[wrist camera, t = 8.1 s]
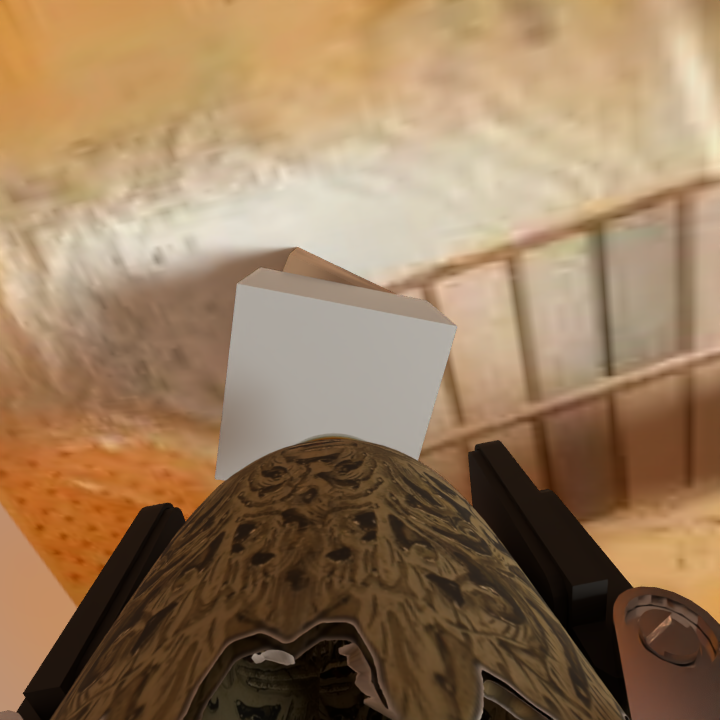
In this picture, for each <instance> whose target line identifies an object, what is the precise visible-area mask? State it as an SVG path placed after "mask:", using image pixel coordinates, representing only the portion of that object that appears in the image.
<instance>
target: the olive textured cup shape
mask: <svg viewBox="0 0 720 720" xmlns="http://www.w3.org/2000/svg"><path fill="white" fill-rule="evenodd" d="M50 720H630V719H629V718H628V717H627V715H626V714H625V712H624V711H623V710H622V708H621V707H620V706H619V704H618V703H617V701H616V700H615V699H614V697H613V696H612V694H611V693H610V692H609V690H608V689H607V687H606V686H605V685H604V683H603V682H602V680H601V679H600V678H599V676H598V675H597V674H596V672H595V671H594V669H593V668H592V667H591V665H590V664H589V662H588V661H587V660H586V658H585V657H584V655H583V654H582V653H581V651H580V650H579V648H578V647H577V646H576V644H575V643H574V641H573V640H572V639H571V637H570V636H569V635H568V633H567V632H566V630H565V629H564V628H563V626H562V625H561V623H560V622H559V621H558V619H557V618H556V616H555V615H554V614H553V612H552V611H551V609H550V608H549V607H548V605H547V604H546V603H545V601H544V600H543V598H542V597H541V596H540V594H539V593H538V591H537V590H536V589H535V587H534V586H533V585H532V583H531V582H530V581H529V579H528V578H527V576H526V575H525V574H524V572H523V571H522V570H521V568H520V567H519V565H518V564H517V563H516V561H515V560H514V559H513V557H512V556H511V555H510V553H509V552H508V550H507V549H506V548H505V546H504V545H503V544H502V542H501V541H500V540H499V538H498V537H497V536H496V535H495V533H494V532H493V531H492V529H491V528H490V527H489V526H488V524H487V523H486V522H485V521H484V519H483V518H482V517H481V516H480V515H479V514H478V513H477V511H476V510H475V509H474V508H473V507H472V506H471V505H470V503H469V502H468V501H467V500H466V499H465V498H464V497H463V496H462V495H461V494H460V493H459V492H458V491H457V490H456V489H455V488H454V487H453V486H452V485H451V484H449V483H448V482H447V481H446V480H445V479H444V478H443V477H441V476H440V475H439V474H438V473H436V472H435V471H434V470H432V469H431V468H429V467H428V466H426V465H424V464H423V463H421V462H420V461H418V460H416V459H414V458H412V457H410V456H408V455H406V454H404V453H402V452H400V451H398V450H395V449H392V448H389V447H386V446H383V445H379V444H375V443H371V442H367V441H365V440H363V439H361V438H358V437H355V436H352V435H347V434H341V433H328V434H320V435H316V436H312V437H310V438H307V439H304V440H302V441H300V442H299V443H297V444H295V445H292V446H288V447H285V448H282V449H279V450H277V451H274V452H272V453H269V454H267V455H265V456H263V457H261V458H259V459H257V460H255V461H254V462H252V463H250V464H249V465H247V466H246V467H244V468H243V469H241V470H240V471H238V472H237V473H235V474H233V475H232V476H231V477H229V478H228V479H227V480H226V481H225V482H223V483H222V484H221V485H220V486H219V487H218V488H217V489H216V490H215V491H214V492H213V493H212V494H211V495H210V496H209V497H208V498H207V499H206V500H205V501H204V502H203V503H202V504H201V505H200V506H199V507H198V508H197V509H196V510H195V511H194V512H193V513H192V515H191V516H190V517H189V518H188V520H187V521H186V522H185V523H184V525H183V526H182V527H181V528H180V530H179V531H178V532H177V533H176V535H175V536H174V538H173V539H172V540H171V542H170V543H169V544H168V546H167V547H166V549H165V550H164V551H163V553H162V554H161V556H160V557H159V558H158V560H157V561H156V562H155V564H154V565H153V567H152V568H151V569H150V571H149V572H148V574H147V575H146V577H145V578H144V580H143V581H142V582H141V584H140V585H139V587H138V588H137V590H136V591H135V593H134V594H133V596H132V597H131V599H130V600H129V602H128V603H127V605H126V606H125V607H124V609H123V610H122V612H121V613H120V615H119V616H118V618H117V619H116V621H115V622H114V624H113V625H112V627H111V628H110V630H109V631H108V633H107V634H106V636H105V637H104V639H103V640H102V642H101V643H100V645H99V646H98V648H97V649H96V651H95V652H94V654H93V655H92V657H91V658H90V660H89V661H88V663H87V664H86V666H85V667H84V669H83V670H82V672H81V673H80V675H79V676H78V678H77V679H76V681H75V682H74V684H73V685H72V687H71V688H70V690H69V691H68V693H67V694H66V696H65V697H64V699H63V700H62V702H61V703H60V705H59V706H58V708H57V709H56V711H55V712H54V714H53V716H52V717H51V719H50Z"/></svg>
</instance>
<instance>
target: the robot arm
mask: <svg viewBox="0 0 720 720" xmlns="http://www.w3.org/2000/svg"><path fill="white" fill-rule="evenodd" d="M468 459H469V470H470V482H471V493H472V504H473V508H474V509H475V510H476V511H477V513H478V514H479V515H480V516H481V517H482V518H483V519H484V521H485V522H486V523H487V524H488V526H489V527H490V528H491V529H492V531H493V532H494V533H495V535H496V536H497V537H498V538H499V540H500V541H501V542H502V544H503V545H504V546H505V548H506V549H507V550H508V552H509V553H510V555H511V556H512V557H513V559H514V560H515V561H516V563H517V564H518V565H519V567H520V568H521V570H522V571H523V572H524V574H525V575H526V576H527V578H528V579H529V581H530V582H531V583H532V585H533V586H534V587H535V589H536V590H537V591H538V593H539V594H540V596H541V597H542V598H543V600H544V601H545V603H546V604H547V605H548V607H549V608H550V609H551V611H552V612H553V614H554V615H555V616H556V618H557V619H558V621H559V622H560V623H561V625H562V626H563V628H564V629H565V630H566V632H567V633H568V635H569V636H570V637H571V639H572V640H573V641H574V643H575V644H576V646H577V647H578V648H579V650H580V651H581V653H582V654H583V655H584V657H585V658H586V660H587V661H588V662H589V664H590V665H591V667H592V668H593V669H594V671H595V672H596V674H597V675H598V676H599V678H600V679H601V680H602V682H603V683H604V685H605V686H606V687H607V689H608V690H609V692H610V693H611V694H612V696H613V697H614V699H615V700H616V701H617V703H618V704H619V706H620V707H621V708H622V710H623V711H624V712H625V714H626V715H627V717H628V718H629V719H630V720H720V624H719V623H718V622H717V621H716V620H715V619H714V618H713V617H712V616H711V615H710V614H709V613H708V612H707V611H705V610H704V609H702V608H701V607H699V606H698V605H697V604H695V603H694V602H692V601H691V600H689V599H687V598H685V597H683V596H680V595H678V594H676V593H674V592H671V591H667V590H664V589H660V588H656V587H636V588H633V587H632V586H631V584H630V583H629V582H628V581H627V580H626V578H625V577H624V576H623V575H622V574H621V572H620V571H619V570H618V569H617V568H616V566H615V565H614V564H613V563H612V561H611V560H610V559H609V558H608V557H607V555H606V554H605V553H604V552H603V551H602V549H601V548H600V547H599V546H598V545H597V543H596V542H595V541H594V540H593V539H592V537H591V536H590V535H589V534H588V532H587V531H586V530H585V529H584V528H583V526H582V525H581V524H580V523H579V522H578V520H577V519H576V518H575V517H574V516H573V514H572V513H571V512H570V511H569V510H568V508H567V507H566V506H565V505H564V504H563V502H562V501H561V500H560V499H559V497H558V496H557V495H556V494H555V493H554V492H553V491H551V490H549V489H546V490H541V491H539V490H538V489H537V487H536V486H535V485H534V484H533V482H532V481H531V480H530V478H529V477H528V476H527V475H526V473H525V472H524V471H523V469H522V468H521V467H520V466H519V464H518V463H517V462H516V460H515V459H514V458H513V457H512V455H511V454H510V453H509V451H508V450H507V449H506V447H505V446H504V445H503V444H502V442H500V441H499V440H497V441H492V442H487V443H481V444H476V445H475V451H472V452H469V454H468ZM185 522H186V521H185V519H184V516H183V514H182V511H181V510H180V509H179V508H178V507H176V508H174V507H173V505H172V504H171V503H163V504H158V505H153V506H147V507H144V508H142V509H141V511H140V512H139V513H138V515H137V516H136V518H135V520H134V521H133V523H132V524H131V526H130V527H129V529H128V530H127V532H126V534H125V535H124V537H123V538H122V540H121V541H120V543H119V545H118V546H117V548H116V549H115V551H114V552H113V554H112V555H111V557H110V559H109V560H108V562H107V563H106V565H105V566H104V568H103V569H102V571H101V573H100V574H99V576H98V577H97V579H96V580H95V582H94V583H93V585H92V587H91V588H90V590H89V591H88V593H87V594H86V596H85V598H84V599H83V601H82V602H81V604H80V605H79V607H78V608H77V610H76V612H75V613H74V615H73V616H72V618H71V619H70V621H69V622H68V624H67V626H66V627H65V629H64V630H63V632H62V634H61V635H60V636H59V638H58V640H57V641H56V643H55V644H54V646H53V648H52V649H51V651H50V652H49V654H48V655H47V657H46V658H45V660H44V661H43V663H42V665H41V666H40V668H39V669H38V671H37V673H36V674H35V676H34V677H33V679H32V680H31V682H30V683H29V685H28V686H27V688H26V690H25V691H24V693H23V694H24V696H25V697H26V698H25V699H24V701H23V703H22V704H21V706H20V707H19V709H18V711H17V712H13V711H4V712H0V720H50V719H51V717H52V716H53V714H54V712H55V711H56V709H57V708H58V706H59V705H60V703H61V702H62V700H63V699H64V697H65V696H66V694H67V693H68V691H69V690H70V688H71V687H72V685H73V684H74V682H75V681H76V679H77V678H78V676H79V675H80V673H81V672H82V670H83V669H84V667H85V666H86V664H87V663H88V661H89V660H90V658H91V657H92V655H93V654H94V652H95V651H96V649H97V648H98V646H99V645H100V643H101V642H102V640H103V639H104V637H105V636H106V634H107V633H108V631H109V630H110V628H111V627H112V625H113V624H114V622H115V621H116V619H117V618H118V616H119V615H120V613H121V612H122V610H123V609H124V607H125V606H126V605H127V603H128V602H129V600H130V599H131V597H132V596H133V594H134V593H135V591H136V590H137V588H138V587H139V585H140V584H141V582H142V581H143V580H144V578H145V577H146V575H147V574H148V572H149V571H150V569H151V568H152V567H153V565H154V564H155V562H156V561H157V560H158V558H159V557H160V556H161V554H162V553H163V551H164V550H165V549H166V547H167V546H168V544H169V543H170V542H171V540H172V539H173V538H174V536H175V535H176V533H177V532H178V531H179V530H180V528H181V527H182V526H183V525H184V523H185Z"/></svg>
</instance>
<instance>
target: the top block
mask: <svg viewBox="0 0 720 720" xmlns="http://www.w3.org/2000/svg"><path fill="white" fill-rule="evenodd" d="M456 329H457V326H456V325H455V324H454V323H453V322H452V321H450V320H449V319H448V318H447V317H446V316H445V315H443V314H442V313H441V312H440V311H439V310H437V309H436V308H435V307H434V306H433V305H431V304H430V303H429V302H428V301H426V300H421V299H416V298H411V297H407V296H402V295H397V294H392V293H387V292H382V291H377V290H372V289H367V288H362V287H357V286H352V285H347V284H342V283H337V282H332V281H327V280H322V279H317V278H312V277H307V276H302V275H297V274H292V273H287V272H282V271H277V270H272V269H267V268H262V267H260V268H259V269H257V270H256V271H254V272H253V273H251V274H250V275H248V276H247V277H246V278H244V279H243V280H241V281H240V282H238V283H237V287H236V296H235V305H234V314H233V323H232V332H231V340H230V349H229V358H228V367H227V376H226V385H225V394H224V402H223V411H222V420H221V429H220V438H219V447H218V455H217V464H216V473H215V479H218V480H225V481H226V480H227V479H228V478H229V477H231V476H232V475H233V474H235V473H237V472H238V471H240V470H241V469H243V468H244V467H246V466H247V465H249V464H250V463H252V462H254V461H255V460H257V459H259V458H261V457H263V456H265V455H267V454H269V453H272V452H274V451H277V450H279V449H282V448H285V447H288V446H292V445H295V444H297V443H299V442H300V441H302V440H304V439H307V438H310V437H312V436H316V435H320V434H328V433H341V434H347V435H352V436H355V437H358V438H361V439H363V440H365V441H367V442H371V443H375V444H379V445H383V446H386V447H389V448H392V449H395V450H398V451H400V452H402V453H404V454H406V455H408V456H410V457H412V458H414V459H416V460H418V459H419V455H420V452H421V448H422V445H423V442H424V438H425V435H426V431H427V428H428V425H429V421H430V418H431V414H432V411H433V408H434V404H435V401H436V397H437V394H438V391H439V387H440V384H441V380H442V377H443V374H444V370H445V367H446V363H447V360H448V357H449V353H450V350H451V346H452V343H453V340H454V336H455V333H456Z"/></svg>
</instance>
